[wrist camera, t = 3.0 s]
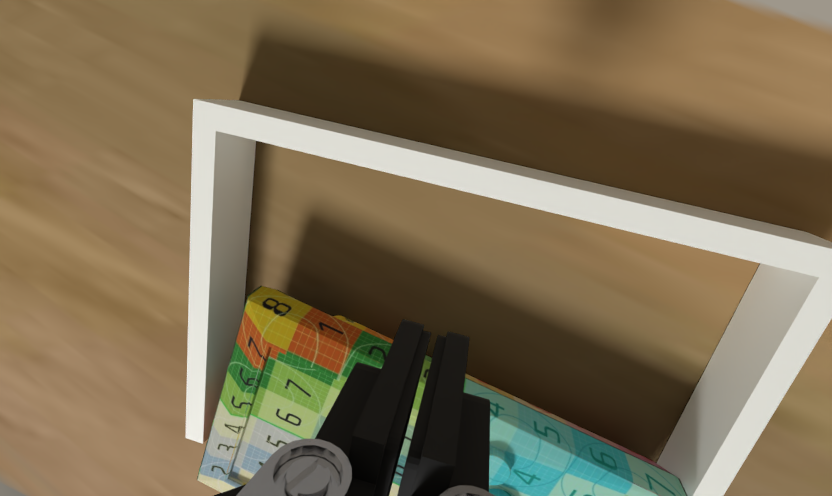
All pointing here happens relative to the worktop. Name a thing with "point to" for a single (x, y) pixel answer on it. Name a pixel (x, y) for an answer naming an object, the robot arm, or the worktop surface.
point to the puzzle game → (326, 375)
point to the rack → (681, 223)
